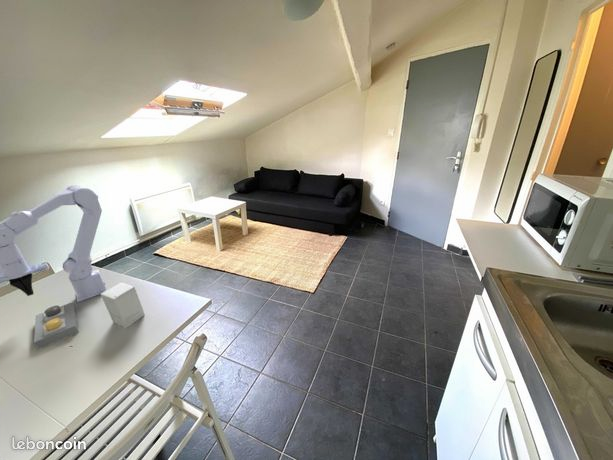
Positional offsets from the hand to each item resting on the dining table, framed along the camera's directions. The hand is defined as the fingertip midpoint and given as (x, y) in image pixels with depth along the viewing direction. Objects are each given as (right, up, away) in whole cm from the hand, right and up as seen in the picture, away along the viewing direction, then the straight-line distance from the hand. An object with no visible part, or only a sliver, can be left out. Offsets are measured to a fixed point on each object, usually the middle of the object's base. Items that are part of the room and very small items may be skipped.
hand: (30, 293), depth 91 cm
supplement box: (+33, -9, +2) cm, 35 cm away
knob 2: (+14, -12, -4) cm, 19 cm away
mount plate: (+11, -11, -1) cm, 16 cm away
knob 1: (+8, -10, +2) cm, 13 cm away
